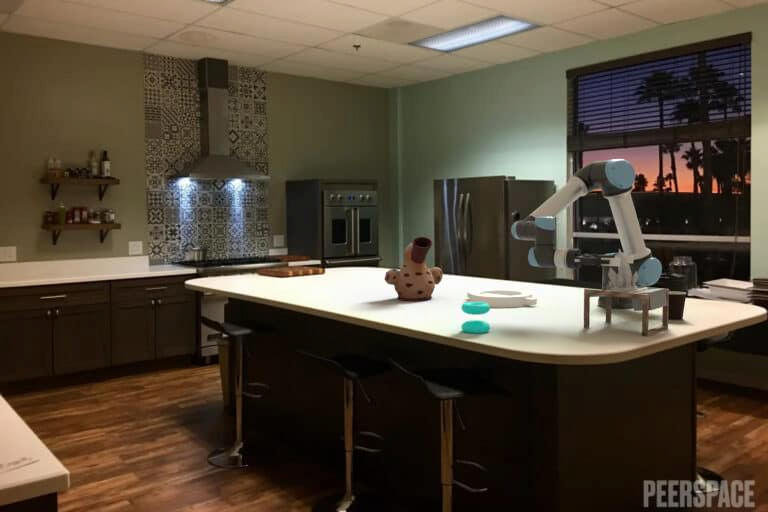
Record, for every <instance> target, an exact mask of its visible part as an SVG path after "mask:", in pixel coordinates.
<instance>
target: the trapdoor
mask: <svg viewBox="0 0 768 512" xmlns="http://www.w3.org/2000/svg"><path fill="white" fill-rule="evenodd" d="M645 287H646V288H638V289H637V290H632V291H623V292H628V293H640V294H649V311H654V310H658V309H661V308H663V307H664V306H667V298H666V290H665V289H666V288H664V287H663V288H661V289H648V288H649V287H648V286H645ZM647 287H648V288H647ZM605 291H609V290H605ZM602 296H604V295H593V294H590V298H599V297H602ZM632 300H633V307H632V309H633V311H634V312H639V311H640V312H642V303H643V299H637V298H632Z"/></svg>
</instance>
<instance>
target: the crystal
mask: <svg viewBox="0 0 768 512" xmlns="http://www.w3.org/2000/svg"><path fill="white" fill-rule="evenodd" d="M618 253H619V256H618V258H620V266H618V272H619V274H618V273H617V275H616V273H615V272H614V271H613V270H612V268H611V267H610V270H609V274H608V275H609V278H610V280H611V282H610V281H609V285H610V287H611V288H610V290H609V291H616V292H623V291H632V290H637V289H638V287H639V286H638V285H636V284H635V283H636V282H637V279H638V274H637V271H636V272H635V274H634V275H633V277H632V273H631V270H630V266H629V264H628V262H627V260H626V259H625V257H624V255H623V254H622V253H623V252H622V250H621V249H620V248H618Z"/></svg>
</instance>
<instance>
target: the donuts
mask: <svg viewBox="0 0 768 512" xmlns="http://www.w3.org/2000/svg"><path fill="white" fill-rule="evenodd" d="M460 307H461V310H462V312H464V313H465V314H467V315H472V316H478V315H485V314H487V313H488V312H490V310H491V307H490V306H489V304H487V303H484V302H470V301H468V302H464V303H462V304H461V306H460ZM490 329H491V326H490V324H489V323H488V322H486V321H484V320H481V319H480V320H479V319H475V320H474V319H472V320H467V321H465V322H463V323H462V324H461V330H462V331H463V332H465V333H468V334H476V333H477V334H485V332H486V333H488V332H489V331H490Z"/></svg>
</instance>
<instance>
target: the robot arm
mask: <svg viewBox="0 0 768 512" xmlns="http://www.w3.org/2000/svg"><path fill="white" fill-rule="evenodd" d="M636 177H637V175H636V170H635V168H634V166H633V165H632V163H631V162H629V160H626V159H622V158H614V159H613V158H612V159H604V160H595V161H593V162H590V163H588V164H586V165H584V167H582V168H580V169H579V170H578V171H576V172H575V173H573V175H571V176H570V177H569V178H568V181H567V183H566V184H565V185H563V186H562V187H561V188H560V189H559V190H558V191H556V192H555V193H554V194H552V196H550V197H549V198H548V199H547V200H545V201H544V202H543V203H542V204H541V205H539V207H537V208H536V209H535V210H533V212H532V213H530V214H529V215H528V216H527V217H526V218H524V219H523V220H518V221H517V220H516V221H515V222H514V223H513V224H512V226H511V227H510V228H511V230H510V232H511V235H512V236H513V237H514V238H515V239H516V240H521V241H534V247H531V248H529V251H528V254H527V259H528V263H529V265H530V266H532V267H536V268H537V267H538V268H550V269H551V268H554V269H560V270H564V269H569V270H571V269H572V270H579V269H580V268H581V267H582V266H593V267H595V266H596V268H601V267H602V268H601V270H602V271H601V272H602V277H601V279H602V282H601V283H602V285H601V287H602V288H601V290H604V291H605V290H606V285H607V284H609V281H610V282H611V280H610V278H609V275H608V274H609V270H610V267H611V268H612V270H613V271H614V272H615V273H616V275H617V273H618V274H619V272H618V266H620V258H618V256H619V252H612V253H605V254H597V253H582V250H581V249H580V248H568V247H567V248H565V247H558V248H557V247H556V228H557V227H556V219H555V218H557V217H558V216H559V215H560V214H561V213H562V212H563V211H564V210H566V209H567V208H568V207H570V206H571V205H572V204H573V203H574V202H575V201H576V200H578V199H579V198H580V197H585V196H586V195H588V193H591V192H593V191H597V190H601V194H602V196H603V198H605V199H607V200H608V202H609V206H610V210H611V213H612V216H613V220H614V223H615V227H616V230H617V233H618V237H619V240H620V244H621V247H622V250H623V252H622V254H623V255H624V257H625V259H626V260H627V262H628V264H629V266H630V270H631V273H632V277H633V275H634V274H635V272H636V271H637V274H638V279H637V282H636V283H635V286H639V287H650V286H653V285H654V284H656V283H657V282H658V281H659V280H660V276H661V275H662V271H663V265H662V263H661V261H660V260H659V259H658V258H656V257H653V254H652V250H651V249H650V248H648V247H646V244H645V240H644V236H643V233H642V230H641V226H640V223H639V220H638V217H637V213H636V208H635V205H634V201H633V198H632V194H631V193H632V191H633V189H634V187H633V186H634V183H635V181H636V180H635V179H636ZM597 306H599V307H603V308H606V296H602V297H598V299H597ZM631 308H633V300H632V298H626V297H615V296H612V299H611V309H631Z"/></svg>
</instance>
